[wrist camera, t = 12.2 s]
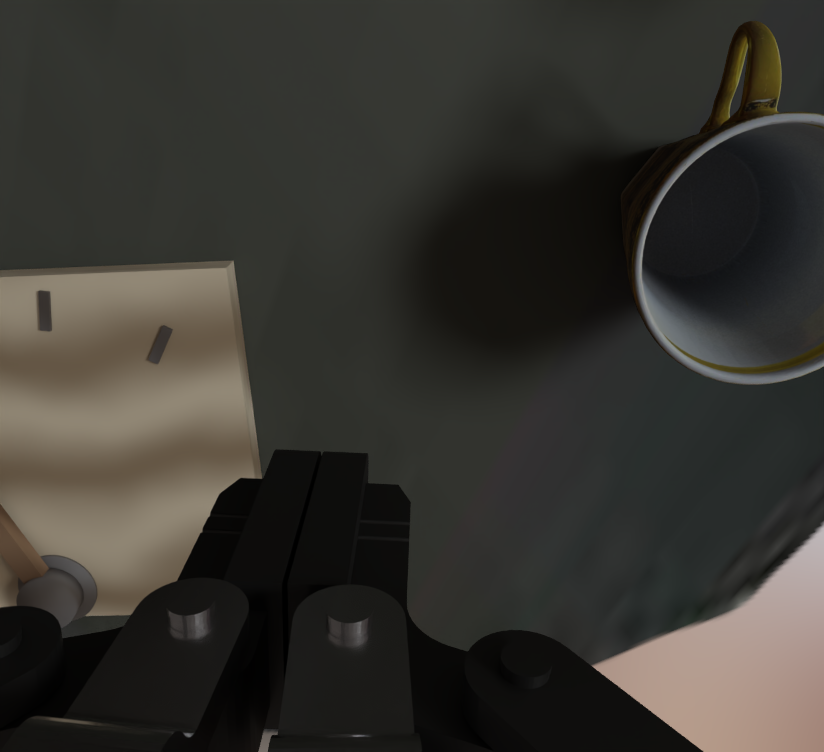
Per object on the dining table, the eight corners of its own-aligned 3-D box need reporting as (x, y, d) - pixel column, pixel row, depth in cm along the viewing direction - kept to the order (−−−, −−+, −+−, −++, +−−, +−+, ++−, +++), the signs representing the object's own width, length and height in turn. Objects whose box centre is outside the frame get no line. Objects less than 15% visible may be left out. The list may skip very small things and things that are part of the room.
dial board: (-237, 279, 40) (-265, 288, 38) (233, 260, 39) (225, 268, 37) (-120, 608, 47) (-139, 626, 46) (277, 597, 46) (272, 616, 45)
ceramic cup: (792, 295, 39) (906, 366, 30) (590, 323, 40) (639, 402, 31) (798, 11, 34) (935, -9, 25) (569, 49, 35) (619, 43, 26)
